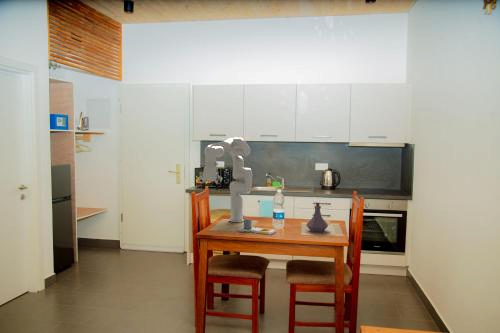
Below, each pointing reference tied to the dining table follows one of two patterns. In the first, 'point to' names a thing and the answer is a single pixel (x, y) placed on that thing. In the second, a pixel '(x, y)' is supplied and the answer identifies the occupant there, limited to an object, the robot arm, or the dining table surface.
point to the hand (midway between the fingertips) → (210, 189)
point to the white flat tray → (257, 230)
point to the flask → (317, 221)
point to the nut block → (247, 223)
